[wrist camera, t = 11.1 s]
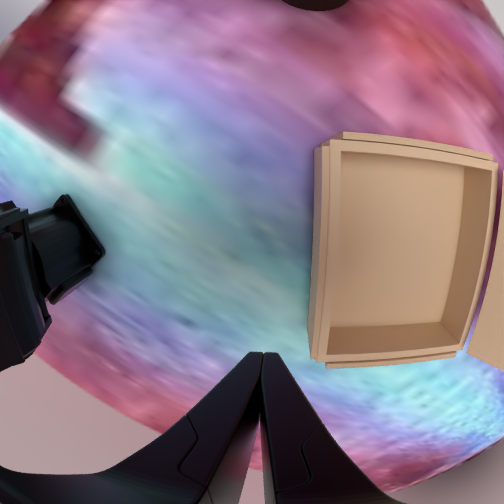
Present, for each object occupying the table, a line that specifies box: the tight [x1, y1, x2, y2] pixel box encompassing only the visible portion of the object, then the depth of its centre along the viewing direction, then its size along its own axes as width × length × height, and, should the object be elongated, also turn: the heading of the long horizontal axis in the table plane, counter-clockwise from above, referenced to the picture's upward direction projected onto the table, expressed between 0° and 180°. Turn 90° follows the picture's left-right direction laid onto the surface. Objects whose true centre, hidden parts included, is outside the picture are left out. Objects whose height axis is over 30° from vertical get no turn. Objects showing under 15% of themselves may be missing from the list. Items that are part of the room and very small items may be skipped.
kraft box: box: [307, 131, 498, 369], centre depth 18 cm, size 12×15×4 cm
